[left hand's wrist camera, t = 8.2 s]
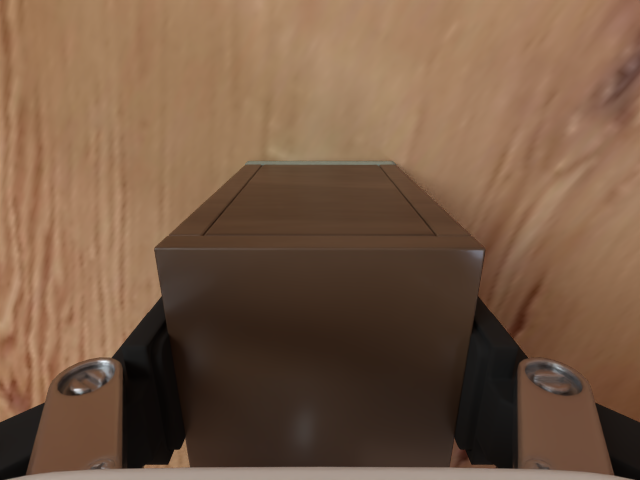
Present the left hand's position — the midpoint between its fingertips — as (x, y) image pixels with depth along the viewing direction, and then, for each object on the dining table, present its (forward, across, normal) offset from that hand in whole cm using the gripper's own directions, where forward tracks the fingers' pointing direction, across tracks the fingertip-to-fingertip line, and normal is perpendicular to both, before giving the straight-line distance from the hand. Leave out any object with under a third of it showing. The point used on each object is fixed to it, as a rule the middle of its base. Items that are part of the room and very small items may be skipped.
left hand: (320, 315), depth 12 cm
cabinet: (+7, 0, -5) cm, 9 cm away
